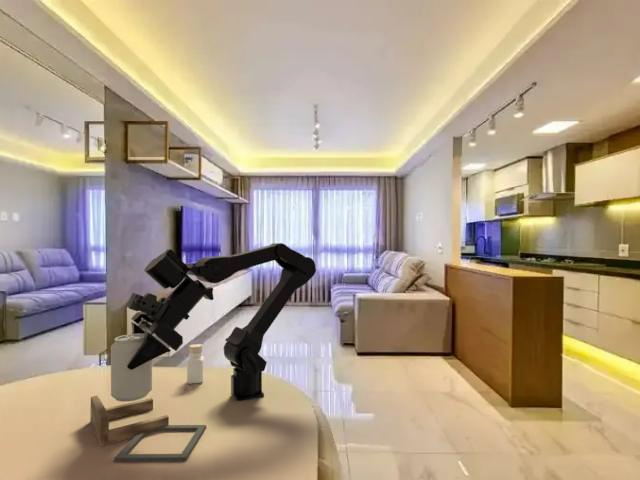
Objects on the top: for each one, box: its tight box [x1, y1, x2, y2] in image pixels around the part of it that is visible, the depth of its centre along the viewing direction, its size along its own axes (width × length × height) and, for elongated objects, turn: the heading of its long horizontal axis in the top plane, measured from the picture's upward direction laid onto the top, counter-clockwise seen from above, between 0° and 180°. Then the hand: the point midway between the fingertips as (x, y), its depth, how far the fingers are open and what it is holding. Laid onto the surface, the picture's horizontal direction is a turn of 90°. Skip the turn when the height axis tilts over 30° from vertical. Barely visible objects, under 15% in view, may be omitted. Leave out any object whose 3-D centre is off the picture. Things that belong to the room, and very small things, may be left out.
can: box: [110, 333, 153, 402], centre depth 78 cm, size 8×8×12 cm
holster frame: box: [113, 424, 207, 463], centre depth 70 cm, size 12×12×1 cm
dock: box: [90, 395, 170, 447], centre depth 78 cm, size 12×12×5 cm
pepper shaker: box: [186, 343, 205, 385], centre depth 103 cm, size 4×4×10 cm
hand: (124, 363), depth 77 cm, fingers closed on can, 7 cm apart
